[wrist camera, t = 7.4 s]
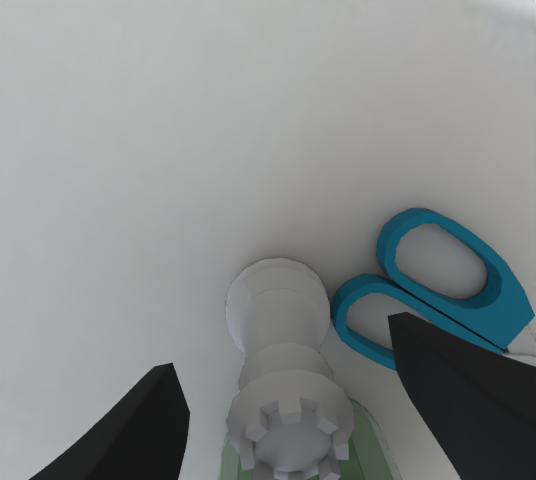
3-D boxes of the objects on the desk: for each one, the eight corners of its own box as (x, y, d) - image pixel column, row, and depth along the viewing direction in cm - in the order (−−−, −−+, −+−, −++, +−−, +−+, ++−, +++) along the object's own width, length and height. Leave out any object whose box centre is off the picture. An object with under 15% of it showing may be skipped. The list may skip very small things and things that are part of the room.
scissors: (419, 197, 13) (735, 411, 17) (408, 192, 14) (710, 397, 18) (319, 331, 15) (630, 502, 19) (315, 319, 16) (612, 484, 20)
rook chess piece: (205, 295, 16) (154, 449, 8) (284, 233, 15) (313, 335, 7) (269, 362, 17) (279, 555, 9) (345, 306, 16) (428, 464, 8)
